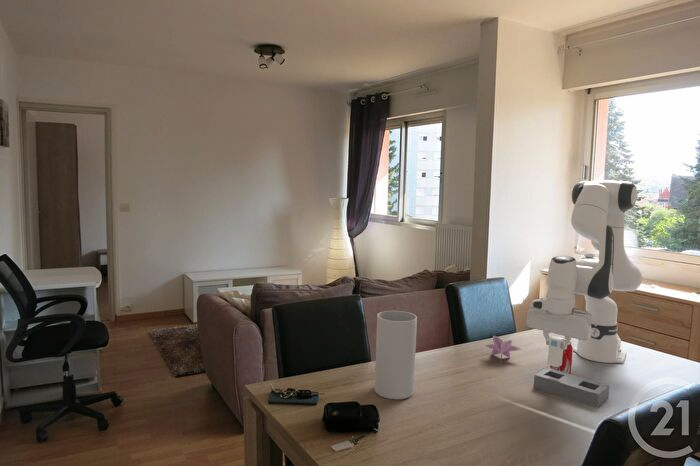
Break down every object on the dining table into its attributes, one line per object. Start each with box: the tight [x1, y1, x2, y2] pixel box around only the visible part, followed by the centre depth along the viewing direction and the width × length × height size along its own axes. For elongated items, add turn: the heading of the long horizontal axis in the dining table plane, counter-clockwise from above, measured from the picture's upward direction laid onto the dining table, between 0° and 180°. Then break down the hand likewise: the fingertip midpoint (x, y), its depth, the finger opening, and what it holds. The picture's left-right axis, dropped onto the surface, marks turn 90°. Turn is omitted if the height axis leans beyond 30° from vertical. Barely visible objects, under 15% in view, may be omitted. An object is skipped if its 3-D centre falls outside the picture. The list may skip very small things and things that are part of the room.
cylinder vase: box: [374, 310, 418, 400], centre depth 156 cm, size 12×12×25 cm
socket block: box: [533, 367, 610, 409], centre depth 159 cm, size 10×20×5 cm, turn 45°
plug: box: [546, 335, 565, 367], centre depth 161 cm, size 4×3×9 cm
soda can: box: [549, 339, 574, 374], centre depth 176 cm, size 7×7×12 cm
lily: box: [485, 335, 522, 364], centre depth 189 cm, size 12×12×10 cm
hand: (556, 346), depth 161 cm, fingers closed on plug, 3 cm apart
